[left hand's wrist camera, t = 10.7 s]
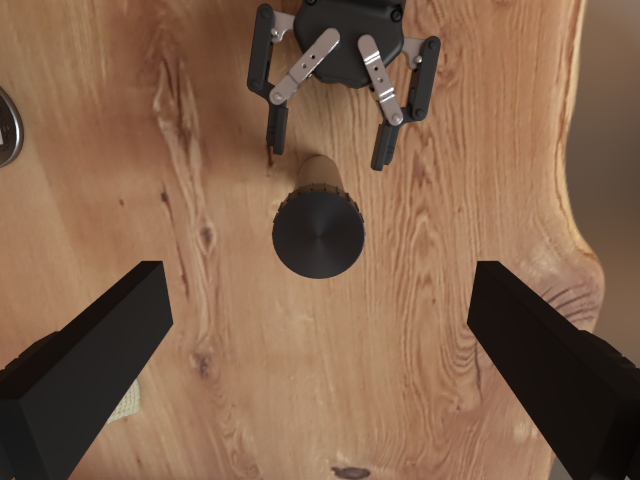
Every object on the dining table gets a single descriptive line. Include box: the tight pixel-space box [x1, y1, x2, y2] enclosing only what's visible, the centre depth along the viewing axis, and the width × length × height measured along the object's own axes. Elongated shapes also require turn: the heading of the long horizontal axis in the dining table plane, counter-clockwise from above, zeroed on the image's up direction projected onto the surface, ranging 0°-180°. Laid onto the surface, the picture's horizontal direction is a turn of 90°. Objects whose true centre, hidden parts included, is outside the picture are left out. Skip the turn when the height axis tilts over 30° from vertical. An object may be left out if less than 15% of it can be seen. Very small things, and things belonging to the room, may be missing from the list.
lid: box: [272, 182, 365, 279], centre depth 20 cm, size 5×5×2 cm
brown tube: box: [294, 156, 345, 192], centre depth 28 cm, size 4×4×18 cm
